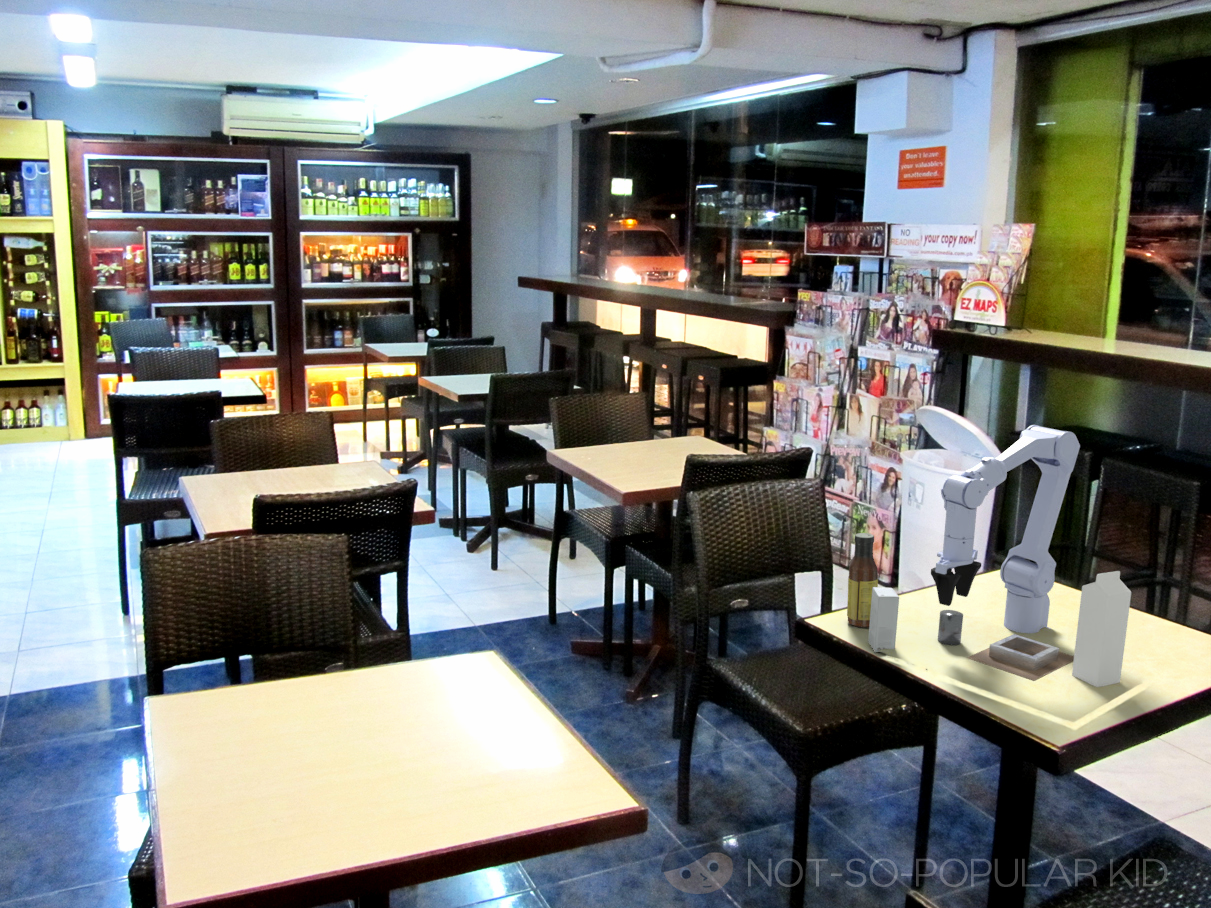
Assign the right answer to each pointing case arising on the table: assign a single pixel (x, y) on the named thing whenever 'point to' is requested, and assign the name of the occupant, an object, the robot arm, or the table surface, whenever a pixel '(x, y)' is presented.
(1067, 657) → the walnut base plate
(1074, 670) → the milk
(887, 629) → the skincare box
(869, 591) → the sauce bottle
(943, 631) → the cylinder
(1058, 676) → the table surface
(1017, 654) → the square metal frame
